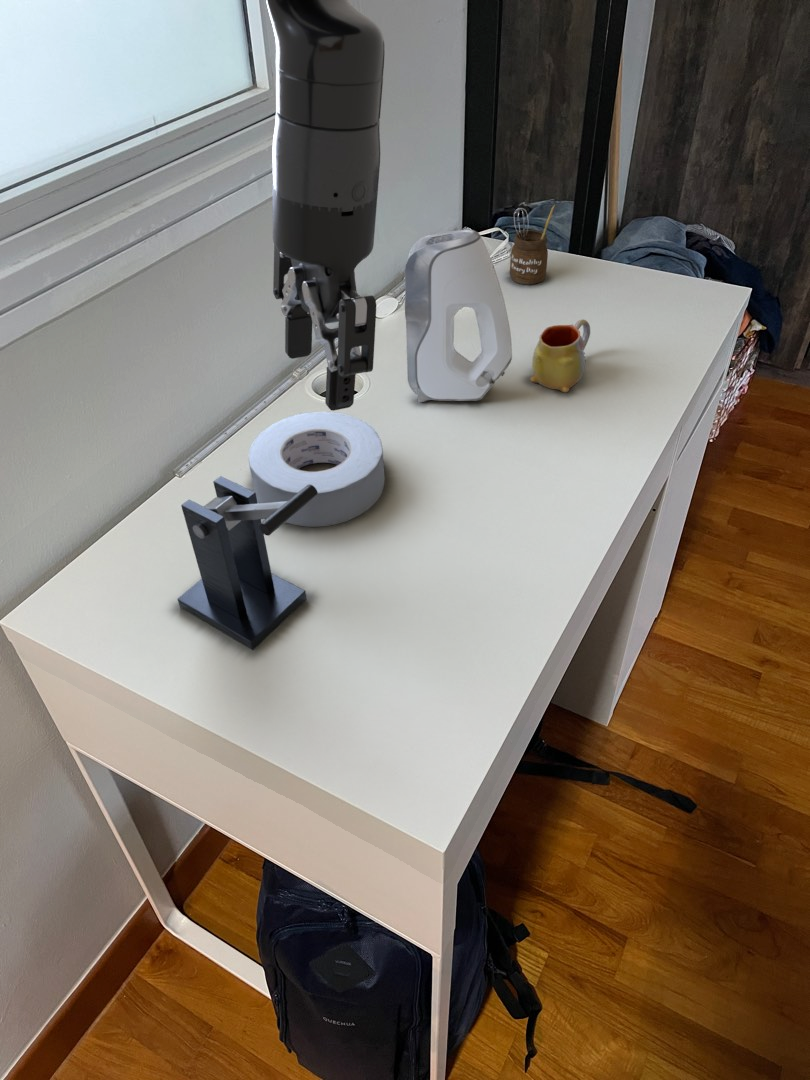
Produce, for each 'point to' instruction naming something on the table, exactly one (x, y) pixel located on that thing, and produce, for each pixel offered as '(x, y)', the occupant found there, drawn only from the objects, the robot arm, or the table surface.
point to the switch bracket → (235, 573)
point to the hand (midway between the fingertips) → (318, 380)
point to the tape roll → (315, 442)
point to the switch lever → (261, 510)
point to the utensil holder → (529, 255)
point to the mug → (560, 356)
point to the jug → (430, 306)
